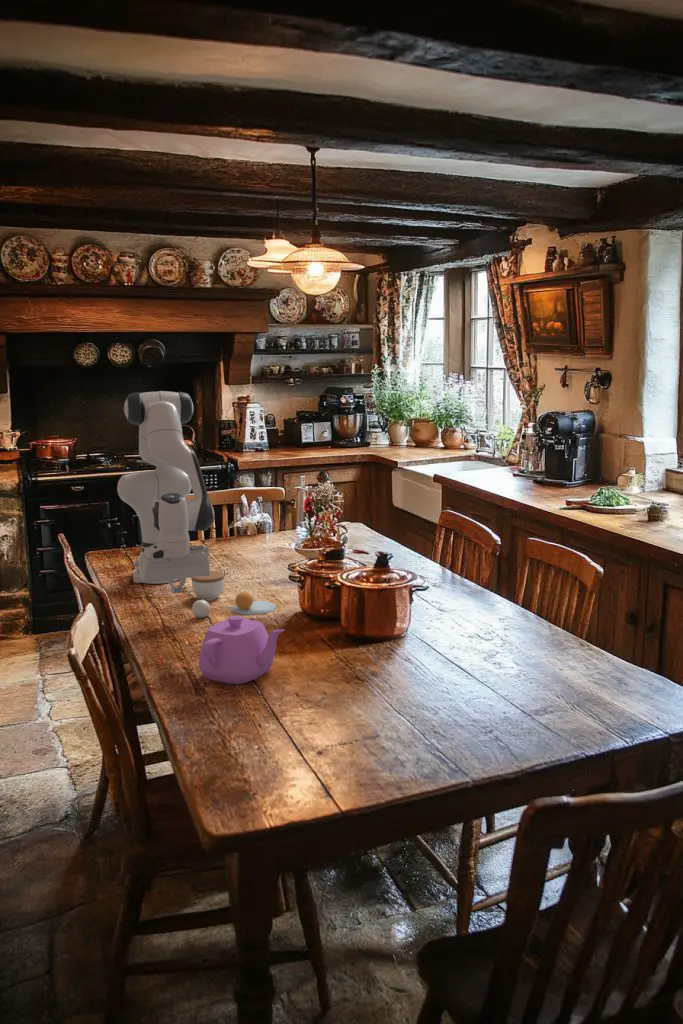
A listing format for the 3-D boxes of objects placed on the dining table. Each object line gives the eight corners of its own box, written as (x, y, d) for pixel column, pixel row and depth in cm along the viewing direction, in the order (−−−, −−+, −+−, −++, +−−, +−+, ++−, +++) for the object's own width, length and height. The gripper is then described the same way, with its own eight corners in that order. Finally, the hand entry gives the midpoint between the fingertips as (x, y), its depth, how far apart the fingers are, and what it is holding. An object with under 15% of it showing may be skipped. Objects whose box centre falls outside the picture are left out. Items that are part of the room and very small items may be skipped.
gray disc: (225, 605, 274) (225, 604, 274) (266, 599, 280) (266, 598, 280) (240, 617, 261) (240, 616, 261) (282, 610, 267) (282, 610, 267)
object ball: (249, 589, 272) (248, 606, 273) (233, 590, 270) (232, 607, 270) (256, 593, 268) (255, 611, 268) (240, 594, 265) (239, 612, 266)
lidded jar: (208, 604, 275) (207, 576, 273) (185, 599, 282) (184, 571, 280) (232, 596, 284) (230, 569, 282) (209, 591, 290) (207, 564, 288)
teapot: (179, 685, 209) (176, 626, 207) (231, 658, 227) (229, 603, 224) (256, 703, 198) (253, 641, 195) (304, 673, 216) (303, 615, 213)
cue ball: (208, 596, 264) (208, 612, 266) (191, 597, 262) (190, 613, 264) (212, 604, 259) (211, 620, 261) (193, 605, 257) (193, 621, 259)
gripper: (205, 542, 263) (207, 585, 266) (138, 549, 255) (141, 594, 258) (211, 546, 258) (213, 590, 261) (144, 554, 249) (146, 600, 252)
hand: (177, 592), depth 259 cm, fingers closed
